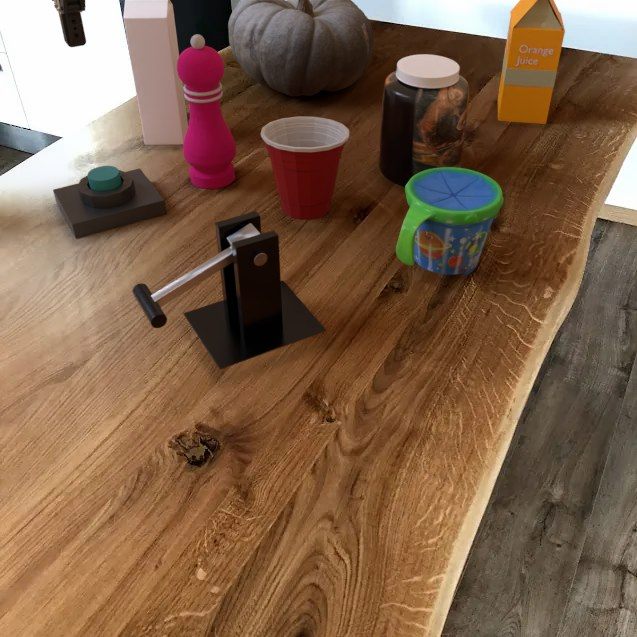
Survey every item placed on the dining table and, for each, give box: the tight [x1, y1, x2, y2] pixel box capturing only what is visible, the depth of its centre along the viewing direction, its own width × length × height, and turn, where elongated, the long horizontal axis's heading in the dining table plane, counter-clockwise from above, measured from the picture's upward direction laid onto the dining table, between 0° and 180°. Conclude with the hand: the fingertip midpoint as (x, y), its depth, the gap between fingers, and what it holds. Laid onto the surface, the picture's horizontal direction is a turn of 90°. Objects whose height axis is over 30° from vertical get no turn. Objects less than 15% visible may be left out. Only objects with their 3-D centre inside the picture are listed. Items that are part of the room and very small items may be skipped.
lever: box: [131, 223, 260, 329], centre depth 70 cm, size 13×6×2 cm, turn 119°
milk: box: [123, 0, 189, 146], centre depth 107 cm, size 6×6×22 cm
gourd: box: [227, 0, 375, 97], centre depth 126 cm, size 25×25×17 cm
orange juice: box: [497, 0, 566, 125], centre depth 114 cm, size 8×9×20 cm
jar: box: [378, 53, 470, 187], centre depth 100 cm, size 12×12×15 cm
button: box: [86, 165, 122, 191], centre depth 94 cm, size 4×4×2 cm
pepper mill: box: [177, 33, 237, 190], centre depth 97 cm, size 7×7×20 cm
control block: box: [52, 167, 168, 240], centre depth 96 cm, size 12×10×4 cm
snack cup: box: [395, 167, 505, 277], centre depth 84 cm, size 16×10×10 cm
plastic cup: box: [260, 115, 350, 221], centre depth 92 cm, size 11×11×12 cm
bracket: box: [183, 210, 327, 370], centre depth 74 cm, size 12×10×13 cm
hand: (76, 44), depth 87 cm, fingers closed
